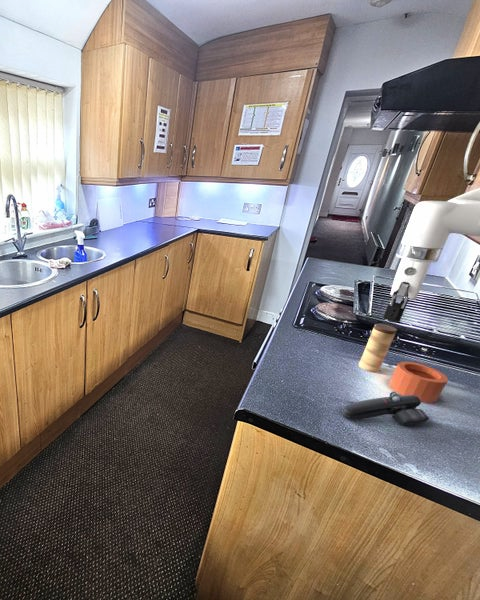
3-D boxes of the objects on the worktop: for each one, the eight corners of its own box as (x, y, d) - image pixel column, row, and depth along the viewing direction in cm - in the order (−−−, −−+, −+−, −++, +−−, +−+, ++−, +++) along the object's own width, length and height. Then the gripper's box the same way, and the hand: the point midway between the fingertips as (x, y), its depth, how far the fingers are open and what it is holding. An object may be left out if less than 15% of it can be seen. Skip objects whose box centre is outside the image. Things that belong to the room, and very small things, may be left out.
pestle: (373, 367, 96) (392, 325, 90) (380, 376, 92) (400, 332, 86) (355, 364, 97) (371, 322, 92) (361, 372, 93) (379, 329, 88)
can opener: (401, 405, 80) (411, 387, 77) (430, 427, 73) (441, 407, 71) (330, 407, 79) (337, 388, 77) (352, 429, 73) (361, 409, 71)
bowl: (423, 387, 87) (434, 365, 84) (444, 409, 79) (457, 385, 77) (381, 380, 90) (391, 358, 87) (398, 400, 82) (409, 377, 80)
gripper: (438, 262, 73) (409, 329, 80) (441, 250, 84) (415, 310, 90) (393, 255, 78) (369, 320, 85) (402, 245, 89) (380, 302, 96)
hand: (393, 315), depth 88 cm, fingers open, 9 cm apart
